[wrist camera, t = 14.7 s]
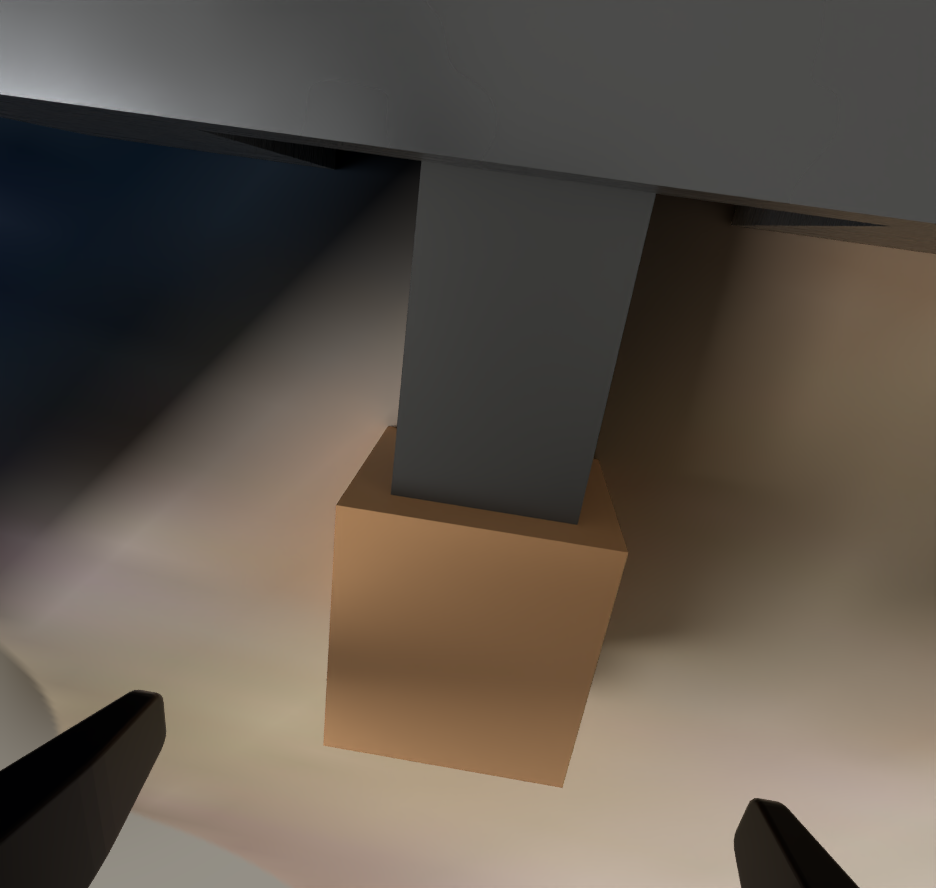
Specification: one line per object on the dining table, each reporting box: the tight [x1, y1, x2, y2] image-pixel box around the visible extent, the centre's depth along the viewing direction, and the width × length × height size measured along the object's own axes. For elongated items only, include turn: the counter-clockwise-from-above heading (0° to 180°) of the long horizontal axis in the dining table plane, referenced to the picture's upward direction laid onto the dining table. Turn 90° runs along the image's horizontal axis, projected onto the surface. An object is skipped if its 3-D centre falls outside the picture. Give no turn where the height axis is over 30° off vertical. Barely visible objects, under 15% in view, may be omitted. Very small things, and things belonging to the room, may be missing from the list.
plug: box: [324, 161, 656, 788], centre depth 9 cm, size 19×4×4 cm, turn 172°
